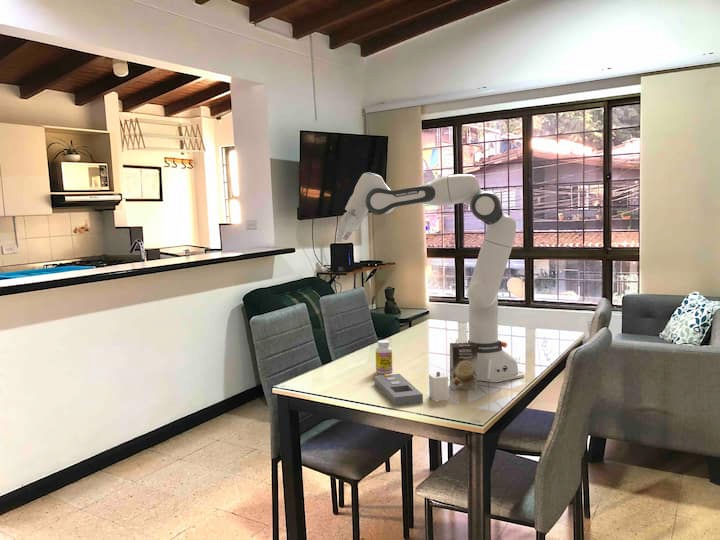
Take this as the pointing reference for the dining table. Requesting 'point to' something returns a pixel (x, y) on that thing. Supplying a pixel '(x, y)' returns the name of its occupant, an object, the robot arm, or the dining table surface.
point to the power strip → (398, 389)
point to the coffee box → (463, 366)
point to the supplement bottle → (383, 357)
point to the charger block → (438, 386)
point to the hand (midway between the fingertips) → (341, 240)
